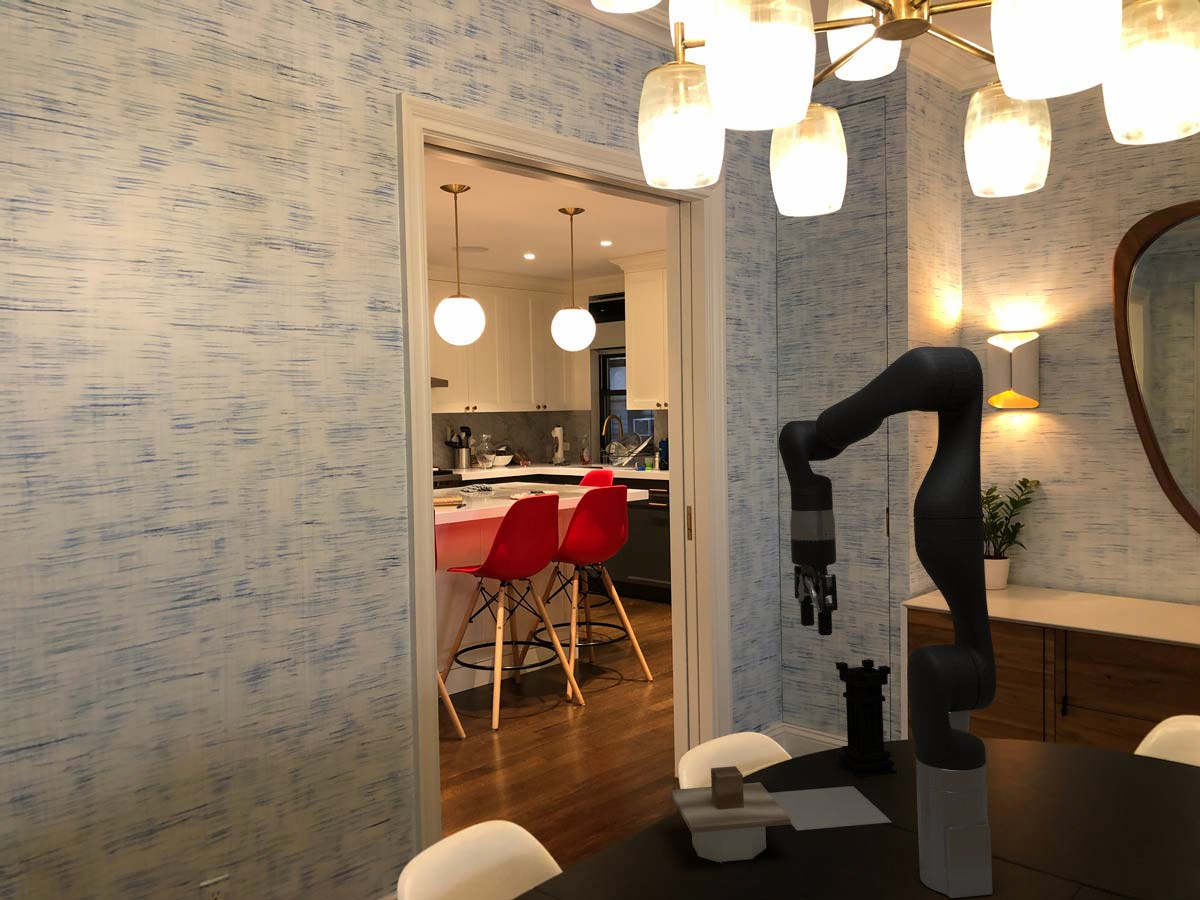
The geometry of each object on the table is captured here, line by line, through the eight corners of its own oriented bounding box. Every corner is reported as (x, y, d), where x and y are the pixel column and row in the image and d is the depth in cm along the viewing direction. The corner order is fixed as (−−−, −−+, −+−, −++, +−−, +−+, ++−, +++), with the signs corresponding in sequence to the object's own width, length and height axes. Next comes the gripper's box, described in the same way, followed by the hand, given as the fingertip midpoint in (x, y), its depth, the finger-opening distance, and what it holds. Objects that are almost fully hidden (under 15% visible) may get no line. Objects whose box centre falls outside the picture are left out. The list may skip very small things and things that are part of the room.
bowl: (772, 859, 137) (771, 819, 137) (703, 865, 135) (702, 825, 135) (752, 830, 147) (750, 793, 147) (688, 835, 146) (686, 798, 146)
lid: (790, 824, 135) (789, 785, 135) (691, 833, 133) (690, 793, 133) (760, 787, 150) (758, 752, 150) (670, 794, 148) (669, 759, 148)
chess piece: (859, 780, 167) (855, 671, 167) (836, 766, 175) (833, 662, 175) (897, 774, 169) (893, 667, 169) (873, 761, 177) (869, 658, 177)
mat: (892, 824, 148) (892, 821, 148) (796, 832, 146) (796, 830, 146) (852, 788, 163) (852, 786, 163) (766, 795, 161) (766, 793, 161)
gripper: (850, 539, 150) (853, 637, 150) (819, 531, 164) (822, 621, 164) (806, 541, 149) (809, 639, 149) (778, 533, 163) (781, 623, 163)
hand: (816, 630), depth 157 cm, fingers open, 8 cm apart
